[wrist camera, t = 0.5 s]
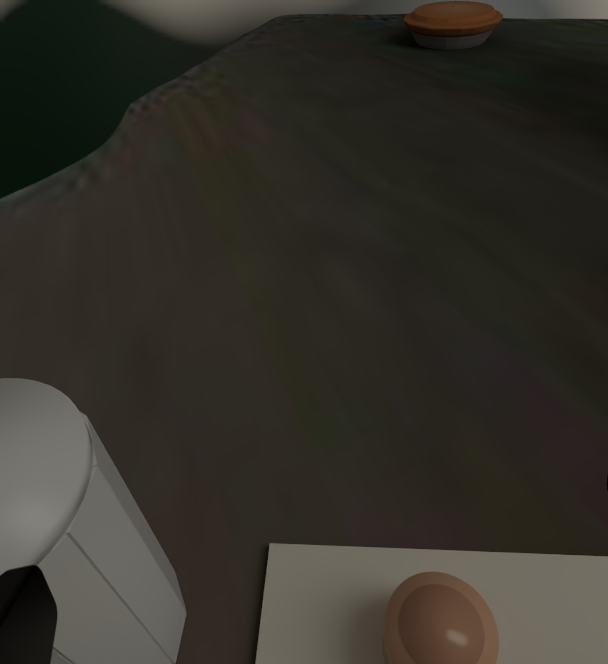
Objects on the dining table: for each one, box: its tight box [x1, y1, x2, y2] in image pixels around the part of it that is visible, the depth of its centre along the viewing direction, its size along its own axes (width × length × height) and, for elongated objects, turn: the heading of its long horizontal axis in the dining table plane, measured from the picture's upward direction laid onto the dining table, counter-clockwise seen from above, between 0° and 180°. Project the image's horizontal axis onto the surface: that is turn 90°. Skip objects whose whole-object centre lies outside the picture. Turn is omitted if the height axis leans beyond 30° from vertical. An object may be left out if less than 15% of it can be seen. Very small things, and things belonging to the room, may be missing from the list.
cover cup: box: [0, 378, 186, 664], centre depth 18 cm, size 7×7×12 cm
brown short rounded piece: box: [382, 572, 499, 664], centre depth 19 cm, size 4×4×3 cm
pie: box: [403, 1, 503, 50], centre depth 83 cm, size 15×16×5 cm
